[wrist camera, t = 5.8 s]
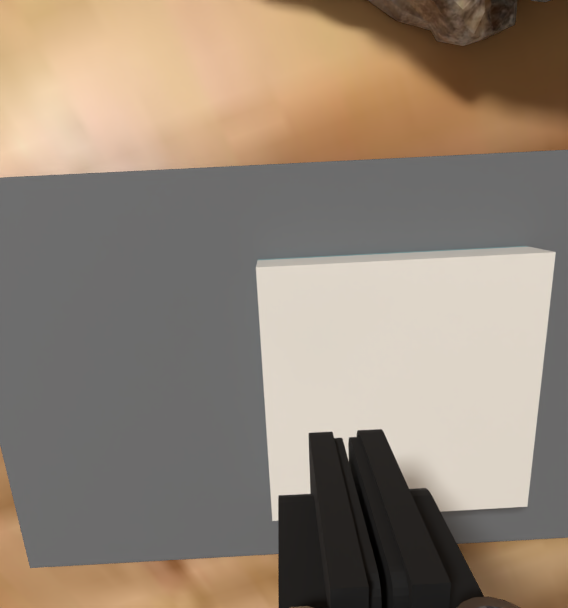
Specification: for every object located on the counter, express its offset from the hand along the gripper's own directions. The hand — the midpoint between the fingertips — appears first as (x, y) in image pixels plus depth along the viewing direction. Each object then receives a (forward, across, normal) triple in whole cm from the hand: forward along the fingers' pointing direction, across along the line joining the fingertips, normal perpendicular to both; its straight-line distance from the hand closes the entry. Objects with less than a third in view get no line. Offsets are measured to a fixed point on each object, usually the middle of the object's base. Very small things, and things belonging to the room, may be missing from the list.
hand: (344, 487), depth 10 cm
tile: (+5, +2, 0) cm, 5 cm away
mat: (+6, +1, 0) cm, 7 cm away
